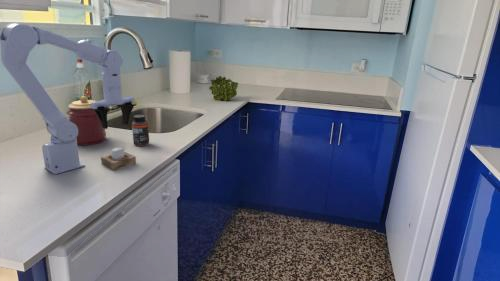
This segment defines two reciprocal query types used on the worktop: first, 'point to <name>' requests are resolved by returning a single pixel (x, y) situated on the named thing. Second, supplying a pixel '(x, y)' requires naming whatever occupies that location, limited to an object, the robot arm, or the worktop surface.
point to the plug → (117, 153)
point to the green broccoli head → (223, 88)
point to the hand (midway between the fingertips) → (115, 126)
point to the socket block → (118, 161)
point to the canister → (86, 122)
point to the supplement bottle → (140, 131)
